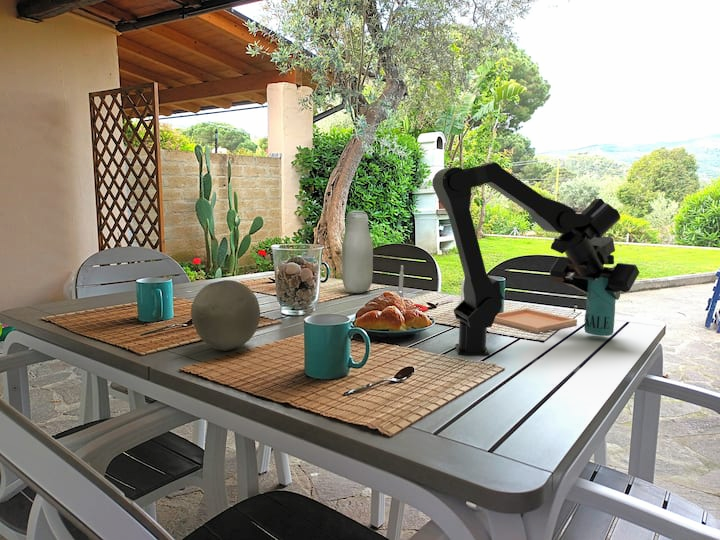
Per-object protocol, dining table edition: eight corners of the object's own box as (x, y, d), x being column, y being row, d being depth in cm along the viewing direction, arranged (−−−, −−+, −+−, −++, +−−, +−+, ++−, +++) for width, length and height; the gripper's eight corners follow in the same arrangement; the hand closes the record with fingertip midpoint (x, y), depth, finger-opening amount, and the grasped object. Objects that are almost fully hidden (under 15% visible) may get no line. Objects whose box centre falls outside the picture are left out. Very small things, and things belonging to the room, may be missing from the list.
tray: (537, 334, 126) (538, 328, 126) (487, 320, 139) (487, 315, 139) (576, 325, 135) (577, 319, 135) (525, 313, 148) (525, 308, 148)
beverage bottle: (604, 335, 126) (611, 252, 123) (619, 342, 119) (626, 255, 116) (578, 335, 126) (583, 252, 123) (591, 342, 119) (597, 255, 116)
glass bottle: (358, 289, 184) (359, 209, 180) (377, 293, 176) (378, 210, 172) (336, 292, 178) (336, 209, 174) (355, 296, 170) (355, 210, 166)
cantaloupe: (190, 344, 115) (188, 277, 113) (255, 339, 120) (253, 274, 118) (194, 364, 102) (191, 288, 100) (266, 357, 107) (265, 284, 105)
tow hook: (431, 309, 154) (401, 305, 158) (434, 266, 152) (404, 263, 156) (422, 316, 147) (391, 311, 150) (425, 270, 144) (394, 267, 148)
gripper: (638, 227, 109) (660, 275, 117) (560, 222, 124) (583, 265, 132) (615, 267, 105) (639, 313, 113) (537, 257, 121) (562, 299, 128)
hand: (604, 295), depth 122 cm, fingers closed on beverage bottle, 6 cm apart
